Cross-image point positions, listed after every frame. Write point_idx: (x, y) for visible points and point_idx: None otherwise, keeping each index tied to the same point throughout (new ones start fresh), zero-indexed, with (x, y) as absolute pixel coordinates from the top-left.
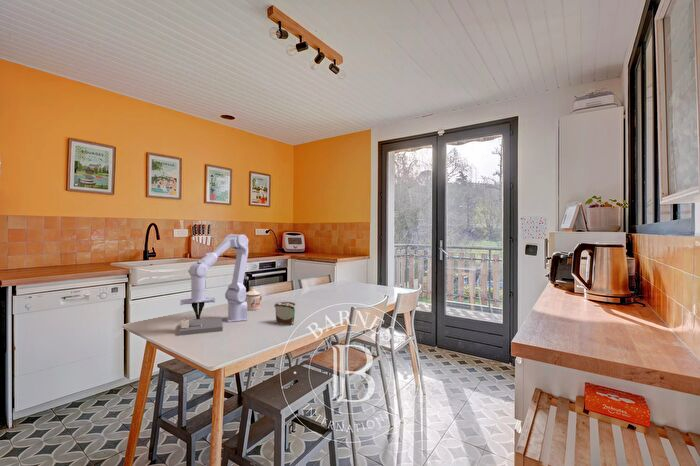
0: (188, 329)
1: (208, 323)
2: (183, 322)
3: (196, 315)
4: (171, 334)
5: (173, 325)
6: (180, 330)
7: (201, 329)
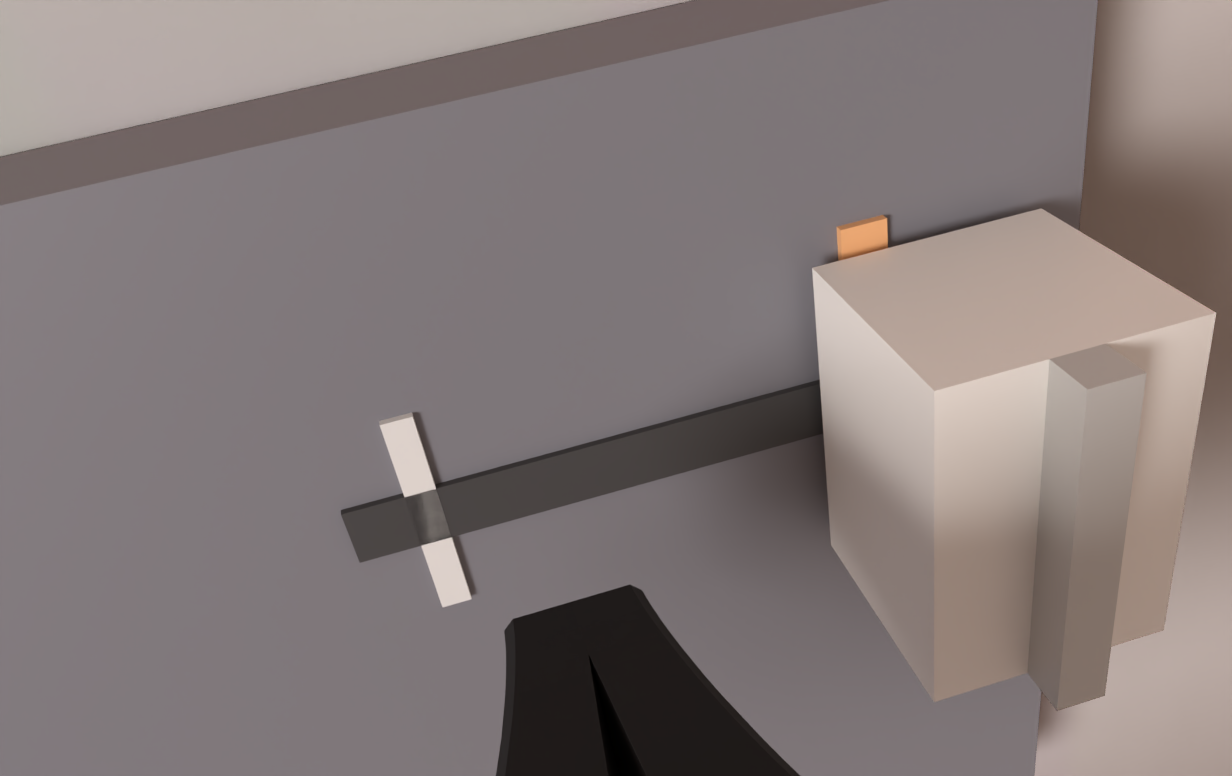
0: (793, 111)
1: (254, 707)
2: (1109, 311)
3: (692, 700)
4: (1192, 87)
5: (1119, 713)
6: (1052, 17)
7: (298, 133)
